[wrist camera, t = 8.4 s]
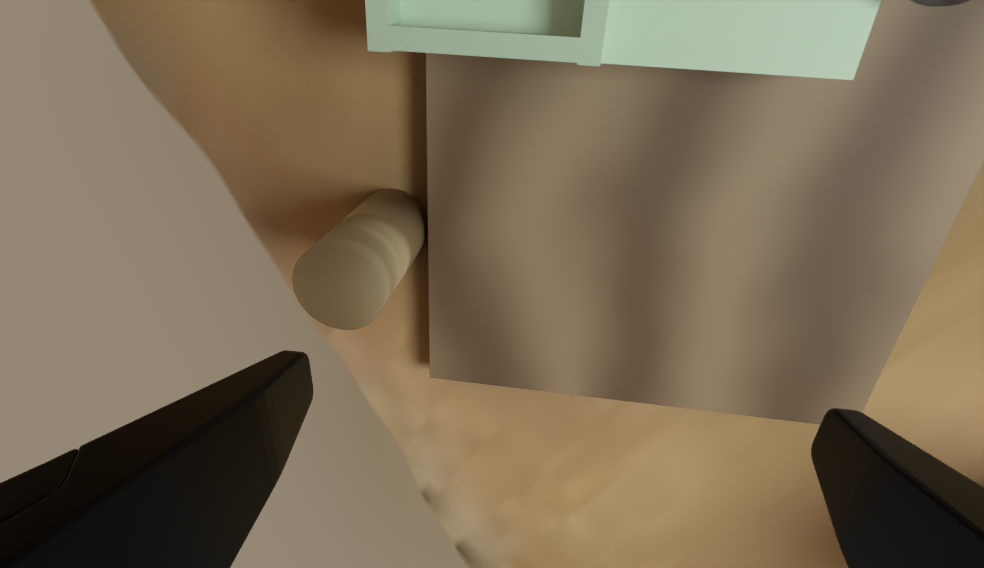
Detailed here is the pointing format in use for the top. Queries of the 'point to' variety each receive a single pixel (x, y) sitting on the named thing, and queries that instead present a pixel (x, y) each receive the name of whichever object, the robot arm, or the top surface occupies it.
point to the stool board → (697, 219)
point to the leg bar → (636, 32)
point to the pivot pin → (939, 2)
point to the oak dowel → (361, 260)
